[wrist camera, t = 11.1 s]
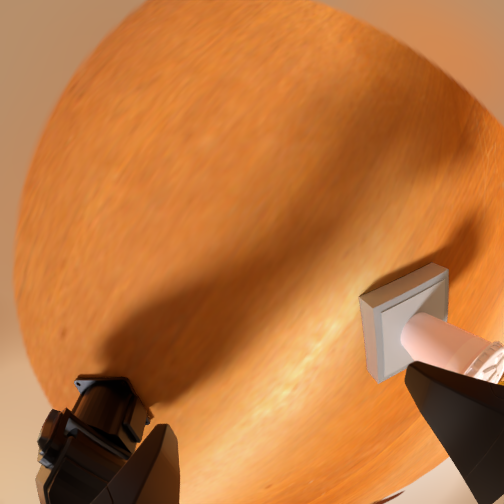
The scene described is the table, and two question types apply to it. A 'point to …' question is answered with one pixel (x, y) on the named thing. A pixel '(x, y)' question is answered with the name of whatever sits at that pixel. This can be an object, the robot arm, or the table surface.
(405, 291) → the base
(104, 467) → the robot arm
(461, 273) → the table surface
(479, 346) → the smoothie
